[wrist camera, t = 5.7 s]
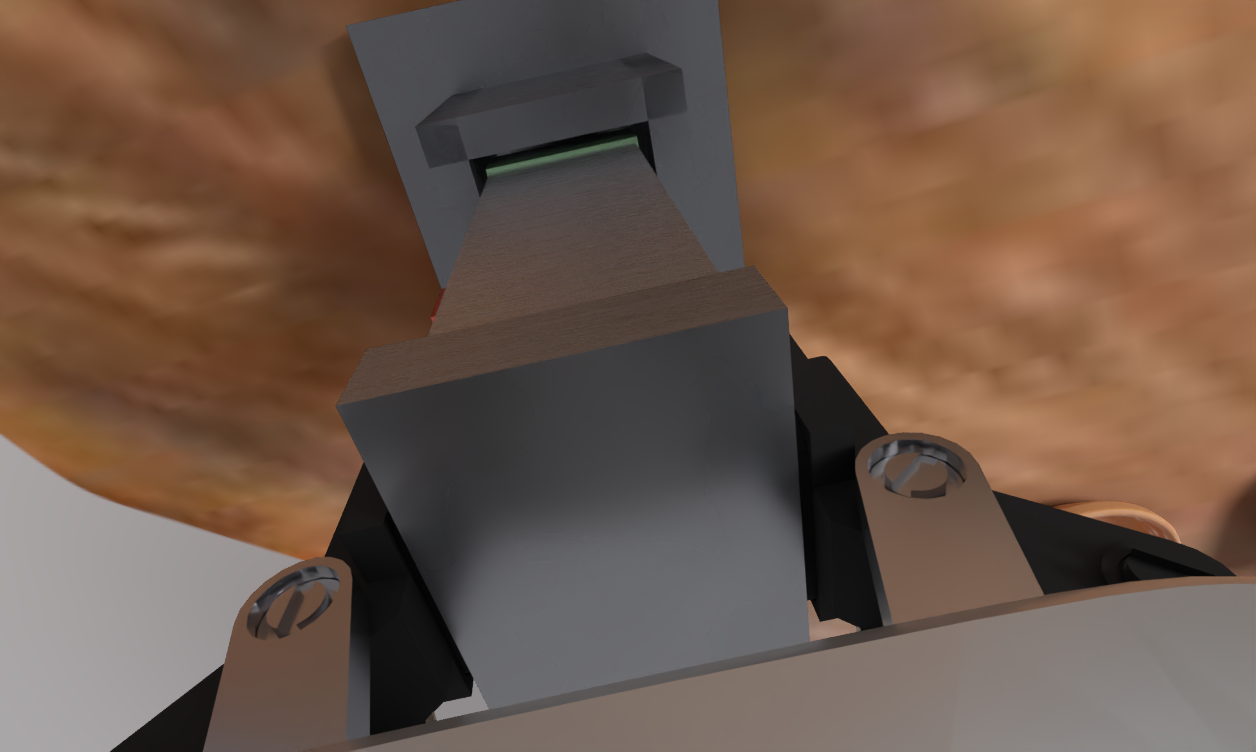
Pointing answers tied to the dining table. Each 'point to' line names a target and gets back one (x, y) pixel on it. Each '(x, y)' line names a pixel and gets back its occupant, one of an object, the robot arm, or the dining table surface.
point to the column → (591, 436)
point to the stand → (552, 102)
